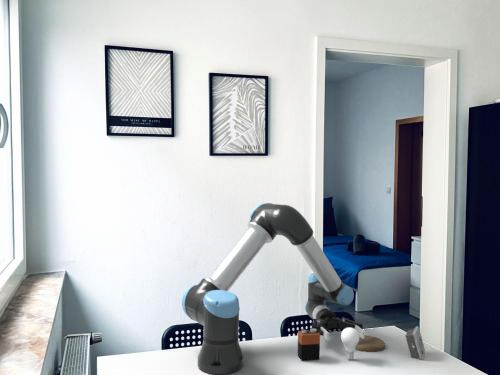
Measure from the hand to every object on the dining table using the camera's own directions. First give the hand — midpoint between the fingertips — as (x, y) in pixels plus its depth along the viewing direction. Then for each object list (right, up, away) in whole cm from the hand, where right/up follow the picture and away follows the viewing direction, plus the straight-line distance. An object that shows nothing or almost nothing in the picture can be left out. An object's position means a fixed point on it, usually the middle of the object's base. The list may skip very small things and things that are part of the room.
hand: (345, 336), depth 152 cm
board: (+9, -6, +10) cm, 15 cm away
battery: (-14, -6, -4) cm, 16 cm away
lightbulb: (0, -7, -5) cm, 8 cm away
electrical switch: (+25, -7, 0) cm, 26 cm away
